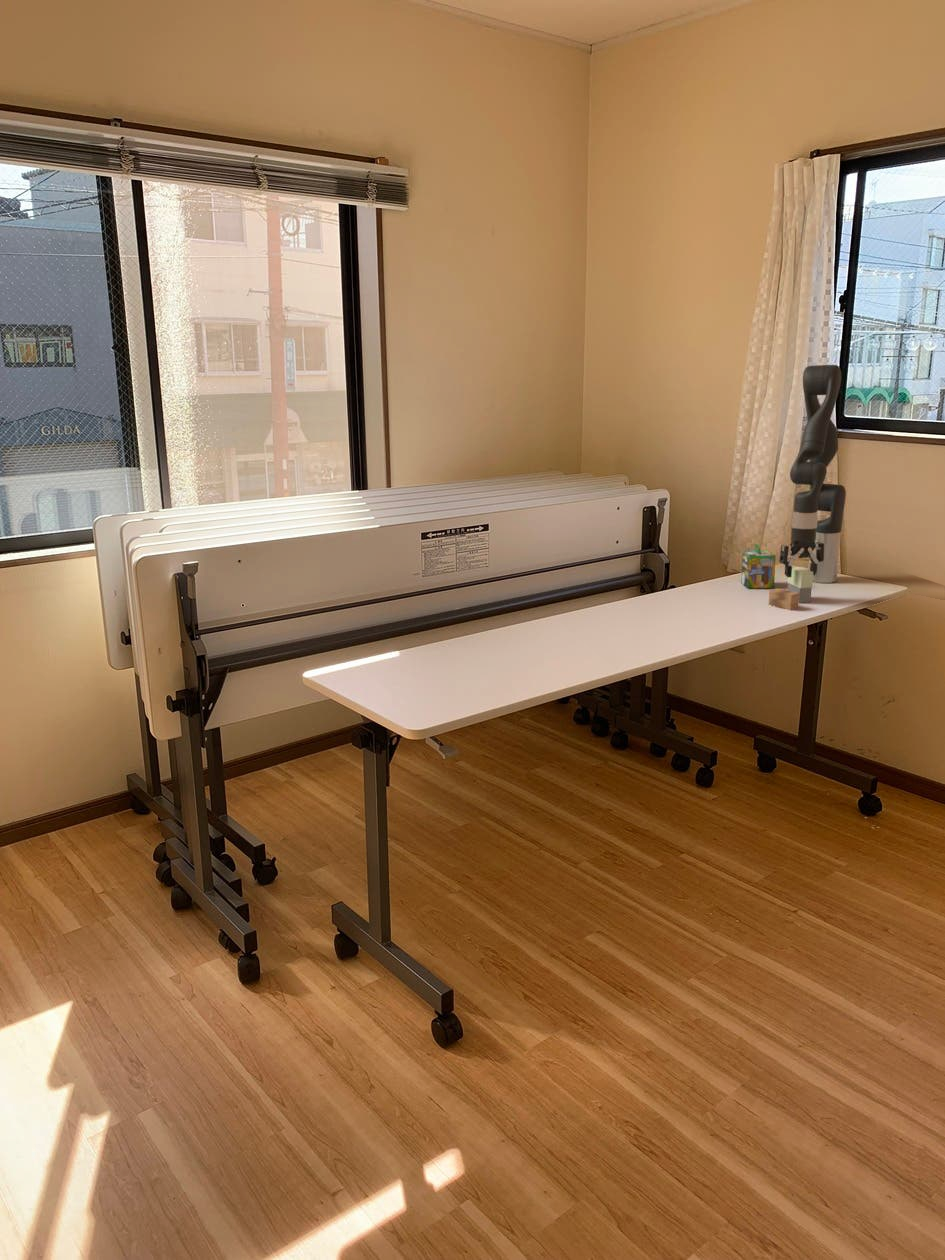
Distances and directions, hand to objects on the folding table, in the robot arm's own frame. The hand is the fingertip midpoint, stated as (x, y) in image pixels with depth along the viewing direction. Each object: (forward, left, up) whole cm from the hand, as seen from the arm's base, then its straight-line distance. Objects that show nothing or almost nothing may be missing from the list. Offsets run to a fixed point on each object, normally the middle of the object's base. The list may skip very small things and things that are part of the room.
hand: (800, 575), depth 313 cm
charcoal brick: (0, 0, -8) cm, 8 cm away
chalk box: (-21, -3, -8) cm, 23 cm away
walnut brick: (+6, -9, -8) cm, 14 cm away
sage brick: (0, 0, -3) cm, 3 cm away
